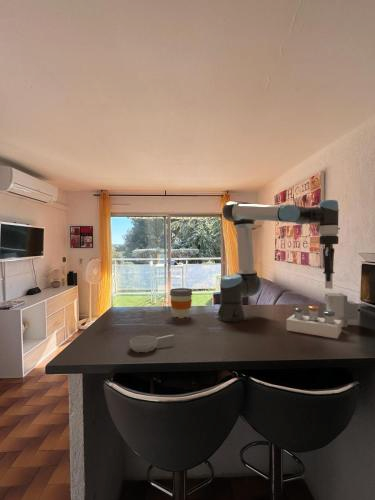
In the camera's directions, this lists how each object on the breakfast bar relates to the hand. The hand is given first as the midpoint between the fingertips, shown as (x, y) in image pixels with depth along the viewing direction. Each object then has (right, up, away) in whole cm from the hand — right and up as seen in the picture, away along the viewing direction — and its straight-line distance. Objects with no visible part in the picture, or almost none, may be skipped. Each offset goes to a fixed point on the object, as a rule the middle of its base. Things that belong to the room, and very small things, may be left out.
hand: (328, 288), depth 124 cm
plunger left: (-10, -20, +8) cm, 23 cm away
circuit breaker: (+13, -20, +13) cm, 27 cm away
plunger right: (0, -20, 0) cm, 20 cm away
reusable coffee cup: (-67, -21, +34) cm, 78 cm away
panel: (-5, -20, +4) cm, 21 cm away
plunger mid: (-5, -18, +4) cm, 19 cm away
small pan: (-77, -22, -14) cm, 81 cm away
